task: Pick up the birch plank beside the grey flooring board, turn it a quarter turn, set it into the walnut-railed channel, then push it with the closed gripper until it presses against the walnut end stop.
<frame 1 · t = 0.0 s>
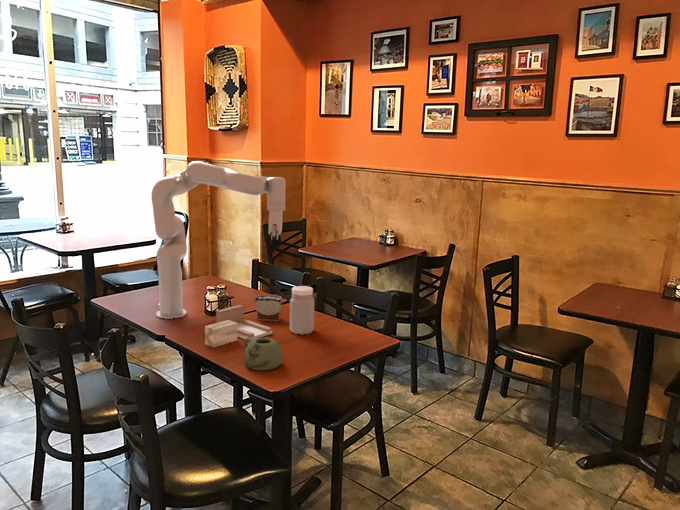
hand: (275, 247, 228), 31 cm above the table, tool pointing down, fingers open, 9 cm apart
food container: (269, 318, 233), on the table
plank: (221, 342, 203), on the table
jar: (301, 331, 217), on the table
floor frame: (244, 331, 215), on the table
green rounded hollow pot: (260, 364, 183), on the table
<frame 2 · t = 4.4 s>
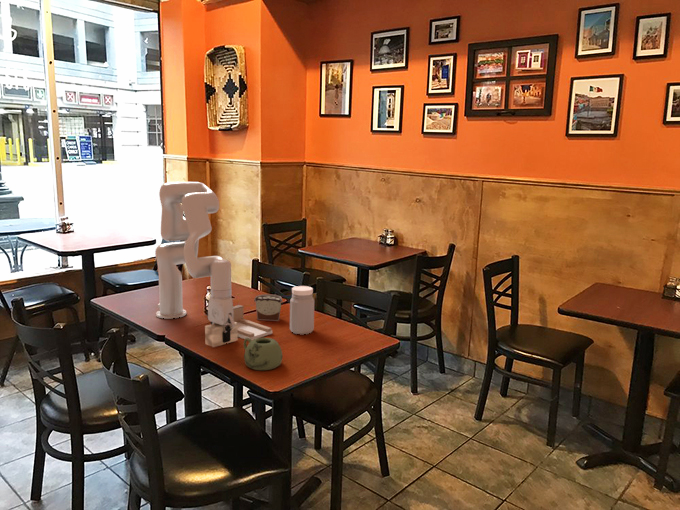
hand: (221, 339, 202), 1 cm above the table, tool pointing down, fingers closed on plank, 5 cm apart
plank: (221, 342, 203), on the table, touching gripper
everything else where it was.
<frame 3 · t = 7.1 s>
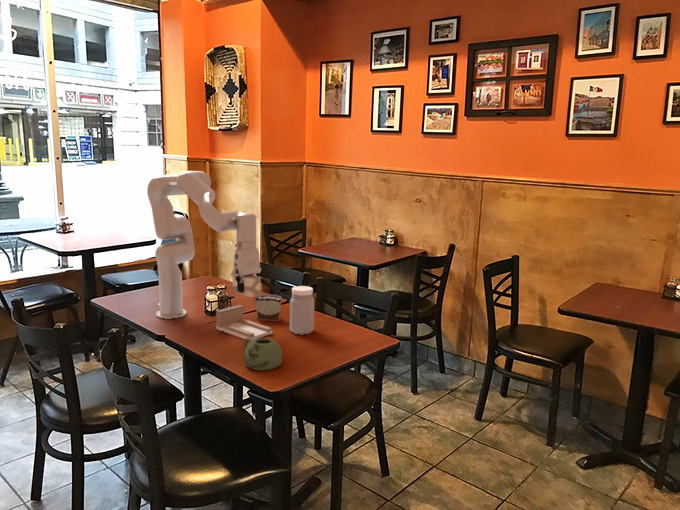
hand: (246, 290, 211), 17 cm above the table, tool pointing down, fingers closed on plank, 5 cm apart
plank: (246, 292, 211), point 16 cm above the table, touching gripper
everything else where it was.
when the fingers open (3 cm above the table, at t = 10.0 s): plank stays where it is, resting on floor frame.
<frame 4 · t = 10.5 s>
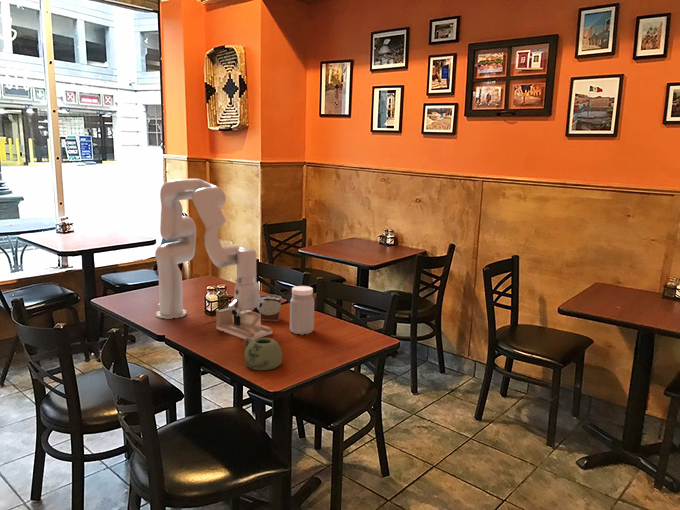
hand: (246, 322, 214), 4 cm above the table, tool pointing down, fingers open, 9 cm apart
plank: (246, 329, 214), point 1 cm above the table, touching floor frame
everything else where it was.
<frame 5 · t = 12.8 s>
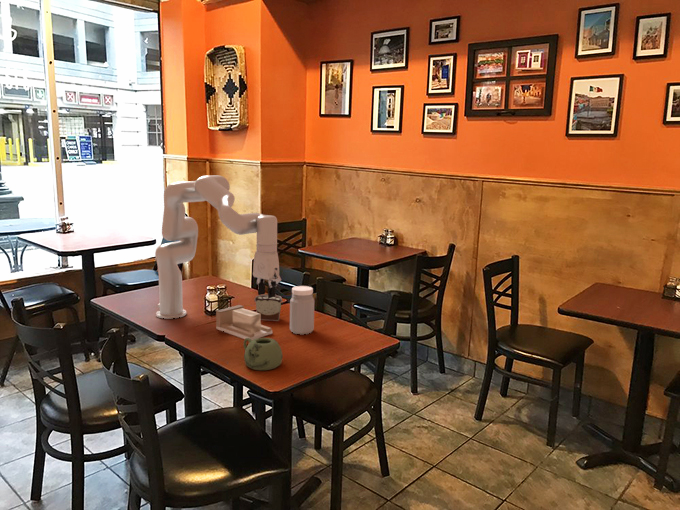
hand: (266, 295, 204), 17 cm above the table, tool pointing down, fingers open, 4 cm apart
nothing on the table moved.
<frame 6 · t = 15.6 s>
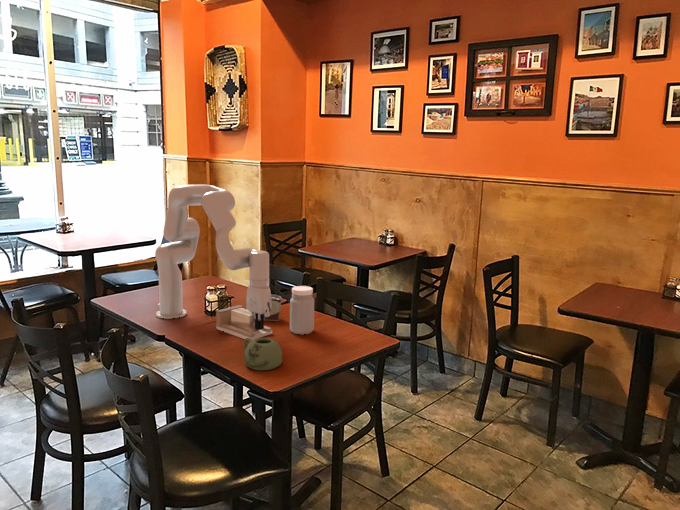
hand: (259, 328, 209), 3 cm above the table, tool pointing down, fingers closed
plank: (245, 328, 215), point 1 cm above the table, touching floor frame, gripper
everything else where it was.
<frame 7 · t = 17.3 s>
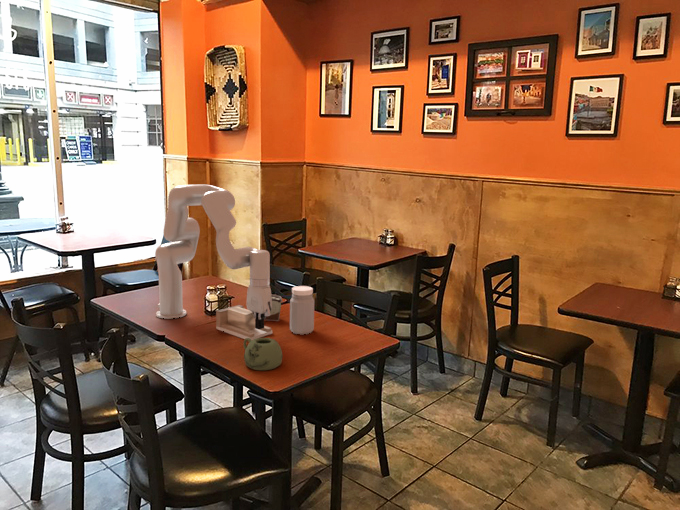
hand: (259, 328, 209), 3 cm above the table, tool pointing down, fingers closed
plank: (241, 327, 216), point 1 cm above the table, touching floor frame
everything else where it was.
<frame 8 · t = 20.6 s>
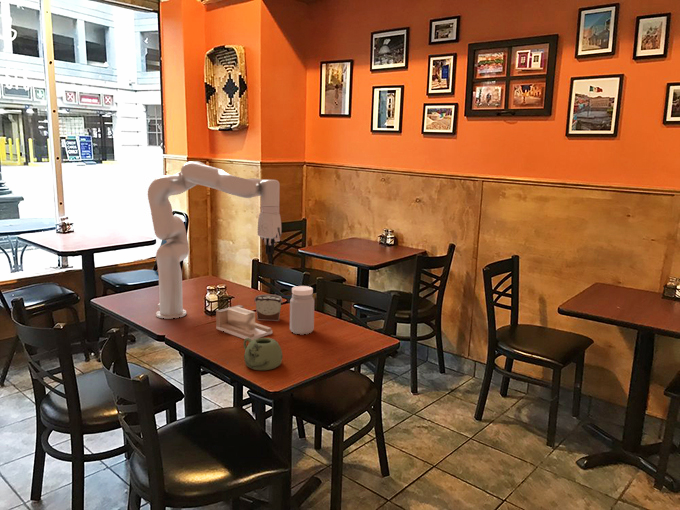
hand: (269, 254, 224), 29 cm above the table, tool pointing down, fingers closed
nothing on the table moved.
at the end: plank 0.4 cm from the target spot on the floor frame, point 1.2 cm above the floor frame's base; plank tilted 0°; the gripper is holding nothing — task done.
